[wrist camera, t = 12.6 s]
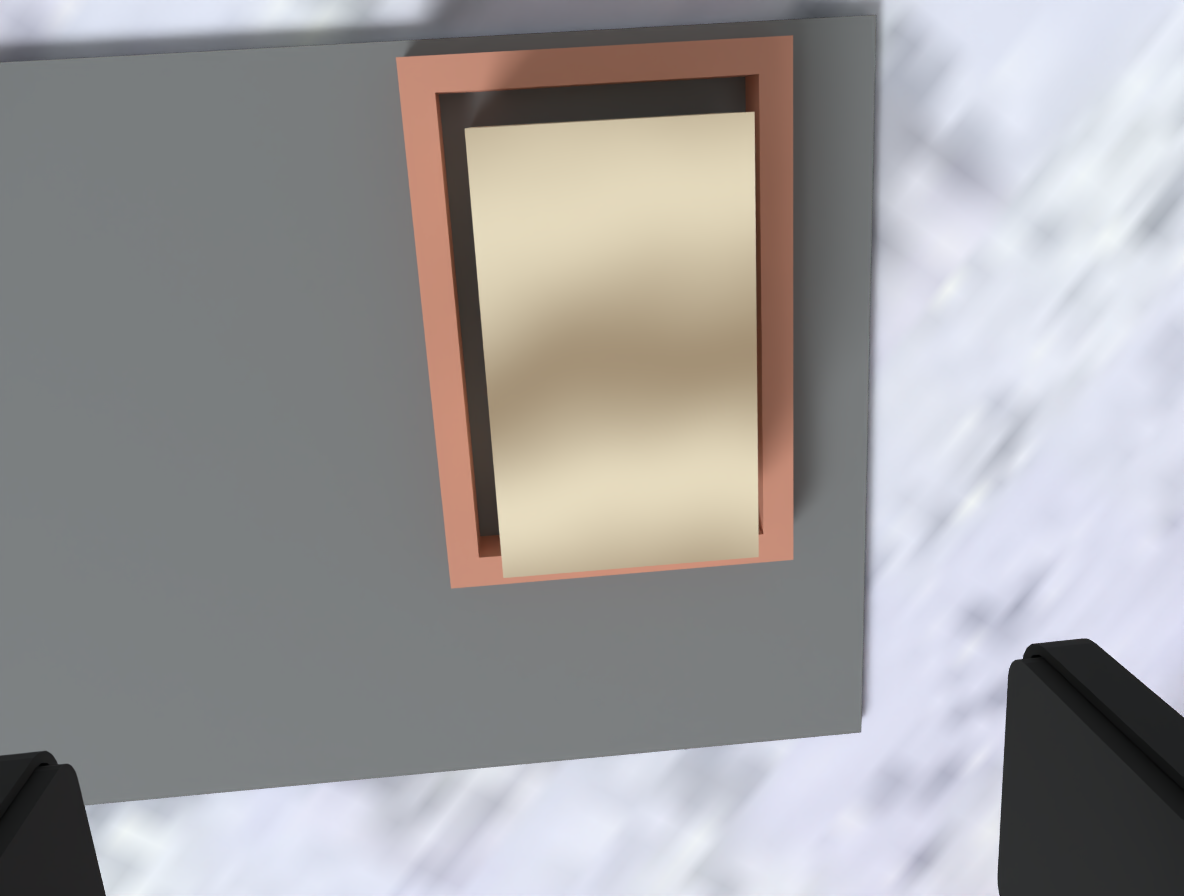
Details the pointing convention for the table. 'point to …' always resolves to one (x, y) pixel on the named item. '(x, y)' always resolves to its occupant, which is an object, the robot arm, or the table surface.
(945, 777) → the table surface
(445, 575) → the mat
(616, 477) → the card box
